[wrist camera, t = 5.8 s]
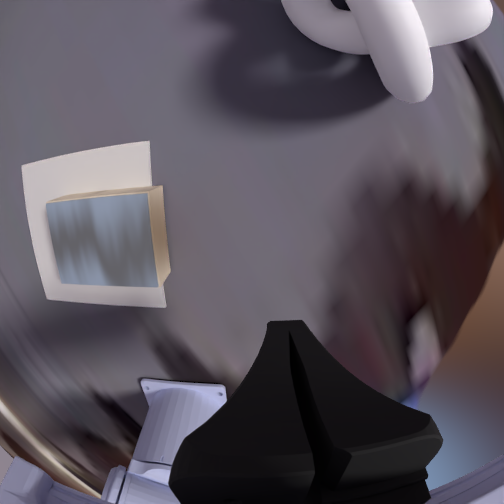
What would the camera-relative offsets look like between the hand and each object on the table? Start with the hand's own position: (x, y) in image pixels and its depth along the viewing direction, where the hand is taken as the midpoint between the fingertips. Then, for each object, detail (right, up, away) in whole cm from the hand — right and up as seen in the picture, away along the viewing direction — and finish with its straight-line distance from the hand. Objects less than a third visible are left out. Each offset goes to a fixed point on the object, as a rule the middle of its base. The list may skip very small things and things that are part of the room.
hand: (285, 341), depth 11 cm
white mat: (-14, +5, +8) cm, 17 cm away
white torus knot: (+7, +19, +3) cm, 21 cm away
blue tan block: (-7, +5, +7) cm, 11 cm away
